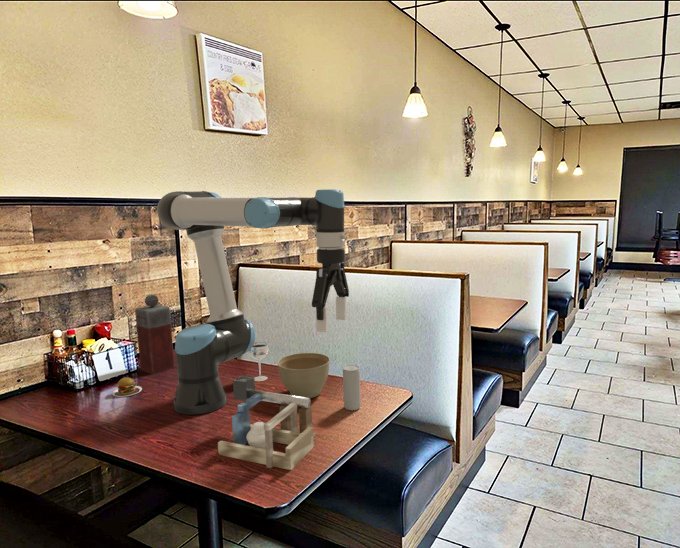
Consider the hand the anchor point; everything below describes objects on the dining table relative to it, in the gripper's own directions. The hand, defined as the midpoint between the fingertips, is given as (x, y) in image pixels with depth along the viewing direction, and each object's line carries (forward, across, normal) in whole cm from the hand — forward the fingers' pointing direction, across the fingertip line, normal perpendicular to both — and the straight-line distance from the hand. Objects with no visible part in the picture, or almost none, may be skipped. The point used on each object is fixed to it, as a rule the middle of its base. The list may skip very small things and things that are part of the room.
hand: (331, 325), depth 132 cm
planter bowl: (+26, +11, +14) cm, 32 cm away
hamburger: (+28, -5, +71) cm, 76 cm away
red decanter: (+28, +17, +79) cm, 85 cm away
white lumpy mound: (+26, -24, +9) cm, 37 cm away
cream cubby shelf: (+26, -15, +4) cm, 30 cm away
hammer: (+25, -20, +11) cm, 34 cm away
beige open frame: (+26, -24, +7) cm, 36 cm away
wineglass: (+27, +18, +35) cm, 48 cm away
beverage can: (+26, +5, -4) cm, 27 cm away
